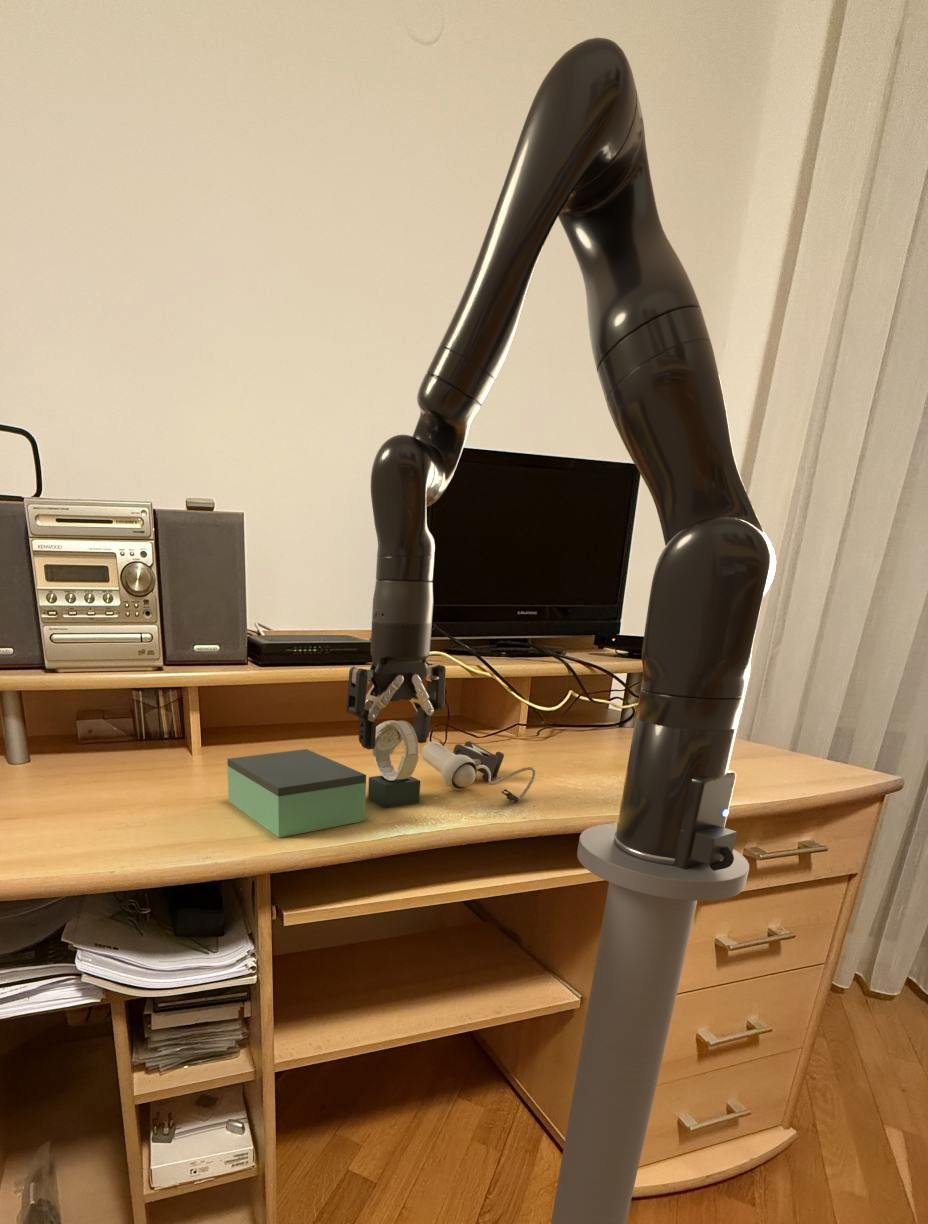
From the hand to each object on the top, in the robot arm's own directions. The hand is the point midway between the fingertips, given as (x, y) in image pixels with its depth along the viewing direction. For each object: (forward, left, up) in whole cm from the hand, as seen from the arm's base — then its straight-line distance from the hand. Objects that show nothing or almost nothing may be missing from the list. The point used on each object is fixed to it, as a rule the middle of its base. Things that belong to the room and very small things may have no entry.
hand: (394, 745), depth 85 cm
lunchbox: (+2, +14, -8) cm, 16 cm away
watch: (0, 0, -8) cm, 8 cm away
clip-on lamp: (-1, -15, -8) cm, 17 cm away
